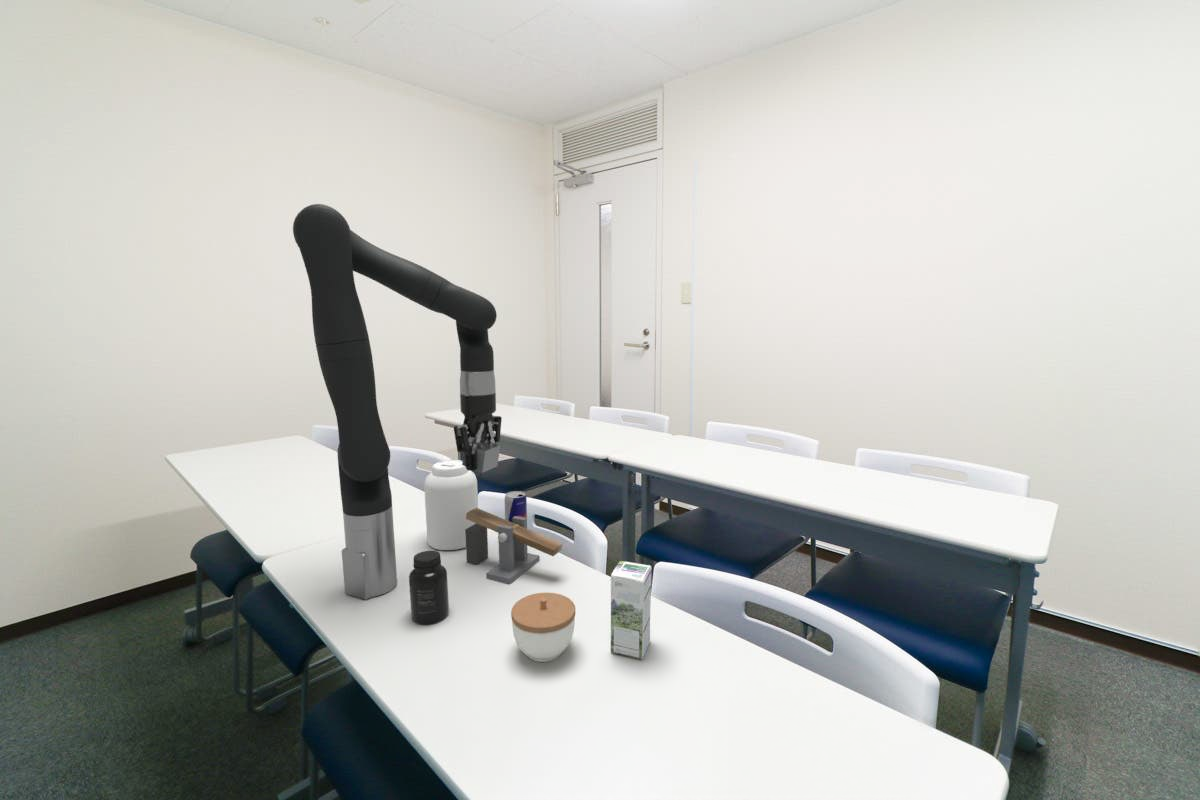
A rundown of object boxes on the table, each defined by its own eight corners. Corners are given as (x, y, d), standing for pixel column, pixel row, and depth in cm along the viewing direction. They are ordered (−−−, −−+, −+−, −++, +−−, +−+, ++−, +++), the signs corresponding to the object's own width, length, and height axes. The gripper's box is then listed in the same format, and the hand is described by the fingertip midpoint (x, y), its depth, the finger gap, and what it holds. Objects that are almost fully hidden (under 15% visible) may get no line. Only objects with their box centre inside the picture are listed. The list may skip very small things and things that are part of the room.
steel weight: (482, 472, 116) (485, 451, 115) (462, 464, 118) (464, 443, 117) (497, 466, 121) (500, 445, 120) (477, 458, 123) (480, 438, 122)
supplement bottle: (456, 610, 104) (454, 551, 102) (431, 629, 98) (428, 567, 96) (429, 602, 107) (425, 545, 105) (403, 619, 101) (399, 559, 99)
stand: (509, 584, 114) (508, 535, 112) (455, 570, 120) (452, 523, 118) (539, 560, 124) (538, 515, 122) (488, 548, 130) (486, 505, 129)
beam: (553, 556, 113) (554, 549, 113) (465, 518, 122) (466, 512, 121) (561, 549, 116) (562, 543, 116) (475, 513, 125) (476, 507, 124)
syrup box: (650, 641, 94) (652, 563, 92) (642, 661, 89) (643, 579, 87) (619, 634, 96) (620, 558, 94) (609, 654, 91) (609, 574, 88)
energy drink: (525, 544, 132) (524, 498, 130) (503, 544, 133) (502, 498, 131) (528, 535, 138) (527, 490, 136) (507, 535, 138) (506, 490, 136)
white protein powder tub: (417, 541, 134) (412, 464, 131) (459, 526, 143) (456, 453, 140) (446, 556, 126) (442, 474, 123) (489, 539, 135) (486, 462, 132)
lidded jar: (567, 675, 86) (566, 621, 84) (503, 667, 88) (501, 614, 86) (581, 635, 96) (581, 586, 94) (524, 628, 98) (522, 580, 96)
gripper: (484, 385, 125) (486, 456, 128) (441, 394, 112) (444, 472, 115) (511, 388, 122) (512, 460, 124) (470, 397, 109) (473, 477, 112)
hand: (479, 466), depth 120 cm, fingers closed on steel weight, 5 cm apart
